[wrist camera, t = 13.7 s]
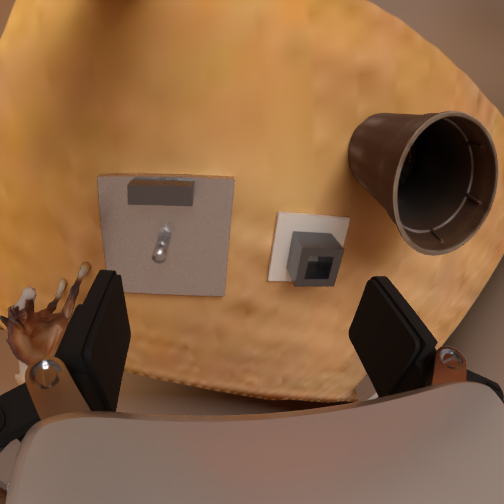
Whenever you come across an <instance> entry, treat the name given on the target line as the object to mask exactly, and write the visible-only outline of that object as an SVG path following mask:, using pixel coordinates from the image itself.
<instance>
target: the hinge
mask: <svg viewBox="0 0 504 504" xmlns="http://www.w3.org/2000/svg"><path fill="white" fill-rule="evenodd" d="M355 390H356V394H357V399H358V402H361V401H366V400H371V399H376V398H379V397H378V395H377V393H376V391H375V389H374V386H373V384H372V382H371V380H370V378H369V376H368V374H367V375H366V376H365V378H364V379H363V380H362V381H361V382H360V383H359V384H358V385H357V386H356V387H355Z"/></svg>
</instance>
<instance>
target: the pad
mask: <svg viewBox="0 0 504 504" xmlns="http://www.w3.org/2000/svg"><path fill="white" fill-rule="evenodd" d="M349 222H350V218H349V217H341V216H330V215H318V214H305V213H291V212H277V218H276V225H275V231H274V238H273V244H272V250H271V257H270V263H269V269H268V276H267V279H268V281H292V280H291V277H290V275H289V273H288V270H287V268H286V266H287V261H288V256H289V250H290V245H291V239H292V234H293V231H300V232H317V233H332V235H333V236H334V237H335V238H336V240H337V241H338V242H339V243H340V245H341V246H342V247H343V246H344V242H345V238H346V234H347V230H348V226H349ZM318 257H319V256H309V260H308V261H318Z"/></svg>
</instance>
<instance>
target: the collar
mask: <svg viewBox="0 0 504 504" xmlns="http://www.w3.org/2000/svg"><path fill="white" fill-rule="evenodd" d="M343 252H344V248H343V247H342V246H341V245H340V243H339V242H338V241H337V240H336V238H335V237H334V236H333V235H332V233H317V232H300V231H293V234H292V239H291V245H290V250H289V256H288V261H287V266H286V268H287V270H288V273H289V275H290V277H291V280H292V282H293V285H294V286H334V284H335V281H336V277H337V274H338V270H339V267H340V263H341V259H342V256H343ZM309 256H319V257H318V261H308V260H309Z"/></svg>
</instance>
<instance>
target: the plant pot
mask: <svg viewBox="0 0 504 504" xmlns="http://www.w3.org/2000/svg"><path fill="white" fill-rule="evenodd" d="M410 149H412V158H411V162H410V164H408V161H409V154H410ZM349 165H350V168H351V171H352V173H353V175H354V176H355V178H356V179H357V181H358V182H359V183H360V184H361V185H362V186H363V187H364V188H365V189H366V190H367V191H368V192H369V193H370V194H371V195H372V196H373V197H374V198H375V199H376V200H377V201H378V202H379V203H380V204H381V205H382V206H383V207H384V208H385V209H386V210H387V212H388V214H389V216H390V217H391V219H392V220H393V221H394V223H395V224H396V226H397V228H398V230H399V232H400V234H401V236H402V237H403V239H404V240H405V241H406V242H407V243H408V244H409V245H410V246H411V247H412V248H413V249H415V250H416V251H418V252H420V253H422V254H426V255H443V254H447V253H450V252H452V251H454V250H456V249H458V248H460V247H461V246H462V245H464V244H465V243H466V242H467V241H469V240H470V239H471V238H472V237H473V236H474V235H475V233H476V232H477V231H478V230H479V229H480V227H481V226H482V224H483V223H484V221H485V220H486V218H487V216H488V214H489V212H490V210H491V207H492V204H493V201H494V198H495V194H496V189H497V183H498V160H497V154H496V149H495V146H494V143H493V141H492V138H491V136H490V134H489V133H488V131H487V130H486V128H485V127H484V126H483V125H482V123H481V122H479V121H478V120H477V119H476V118H474V117H473V116H470V115H468V114H466V113H463V112H458V111H446V112H441V113H429V114H424V115H413V114H393V113H380V114H375V115H372V116H370V117H368V118H367V119H366V120H365V121H364V122H363V123H362V124H360V125H359V126H358V127H357V128H356V130H355V131H354V133H353V136H352V138H351V141H350V146H349Z"/></svg>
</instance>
